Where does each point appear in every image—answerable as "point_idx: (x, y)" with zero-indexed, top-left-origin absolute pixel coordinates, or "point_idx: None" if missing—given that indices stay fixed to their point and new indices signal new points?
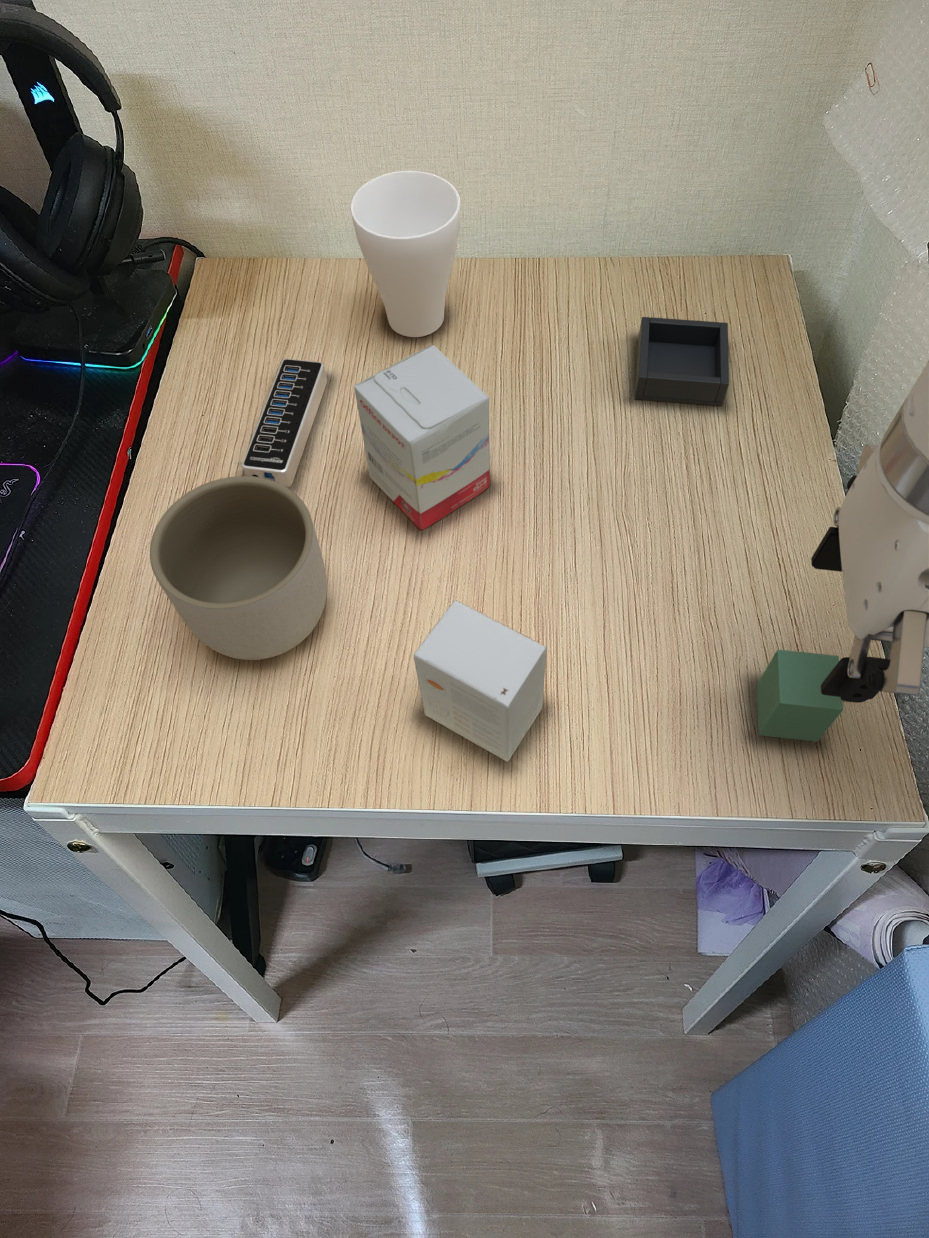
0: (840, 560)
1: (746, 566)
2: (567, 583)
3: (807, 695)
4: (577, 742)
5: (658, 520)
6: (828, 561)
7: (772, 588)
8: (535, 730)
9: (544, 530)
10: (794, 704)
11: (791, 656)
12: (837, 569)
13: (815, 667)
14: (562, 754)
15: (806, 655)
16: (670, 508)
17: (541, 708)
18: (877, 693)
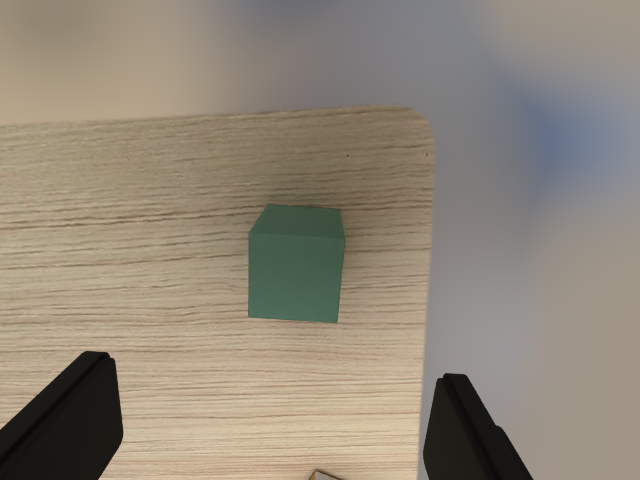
0: (92, 433)
1: (91, 266)
2: (162, 448)
3: (323, 286)
4: (349, 440)
5: (47, 361)
6: (102, 450)
7: (118, 237)
8: (338, 472)
9: None
10: (338, 304)
11: (258, 299)
12: (114, 398)
13: (274, 270)
14: (363, 451)
15: (254, 279)
16: (24, 347)
17: (318, 475)
18: (476, 393)
